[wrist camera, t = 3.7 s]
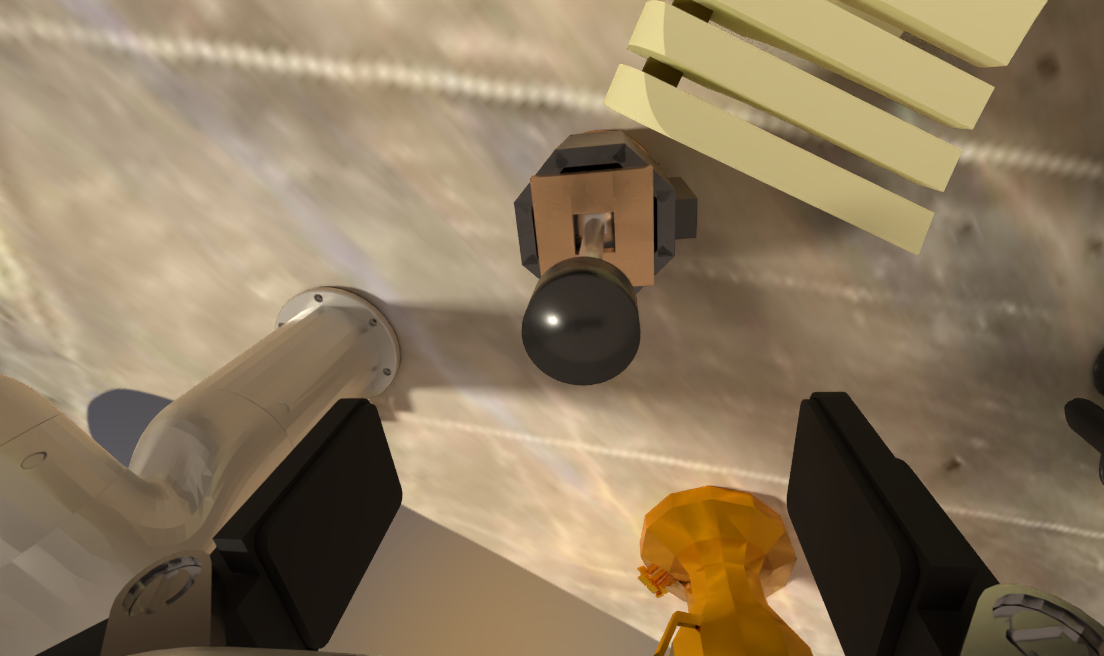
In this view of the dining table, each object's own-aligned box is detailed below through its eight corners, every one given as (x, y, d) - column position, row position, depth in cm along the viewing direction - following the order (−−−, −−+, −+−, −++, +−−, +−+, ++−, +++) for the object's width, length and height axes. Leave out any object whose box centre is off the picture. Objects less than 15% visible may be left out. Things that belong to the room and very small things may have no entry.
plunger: (648, 270, 31) (676, 412, 17) (549, 276, 32) (501, 414, 18) (646, 166, 28) (678, 235, 14) (539, 176, 29) (472, 248, 15)
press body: (674, 244, 41) (699, 304, 29) (548, 252, 42) (523, 312, 31) (676, 122, 37) (705, 135, 25) (535, 136, 38) (502, 154, 27)
